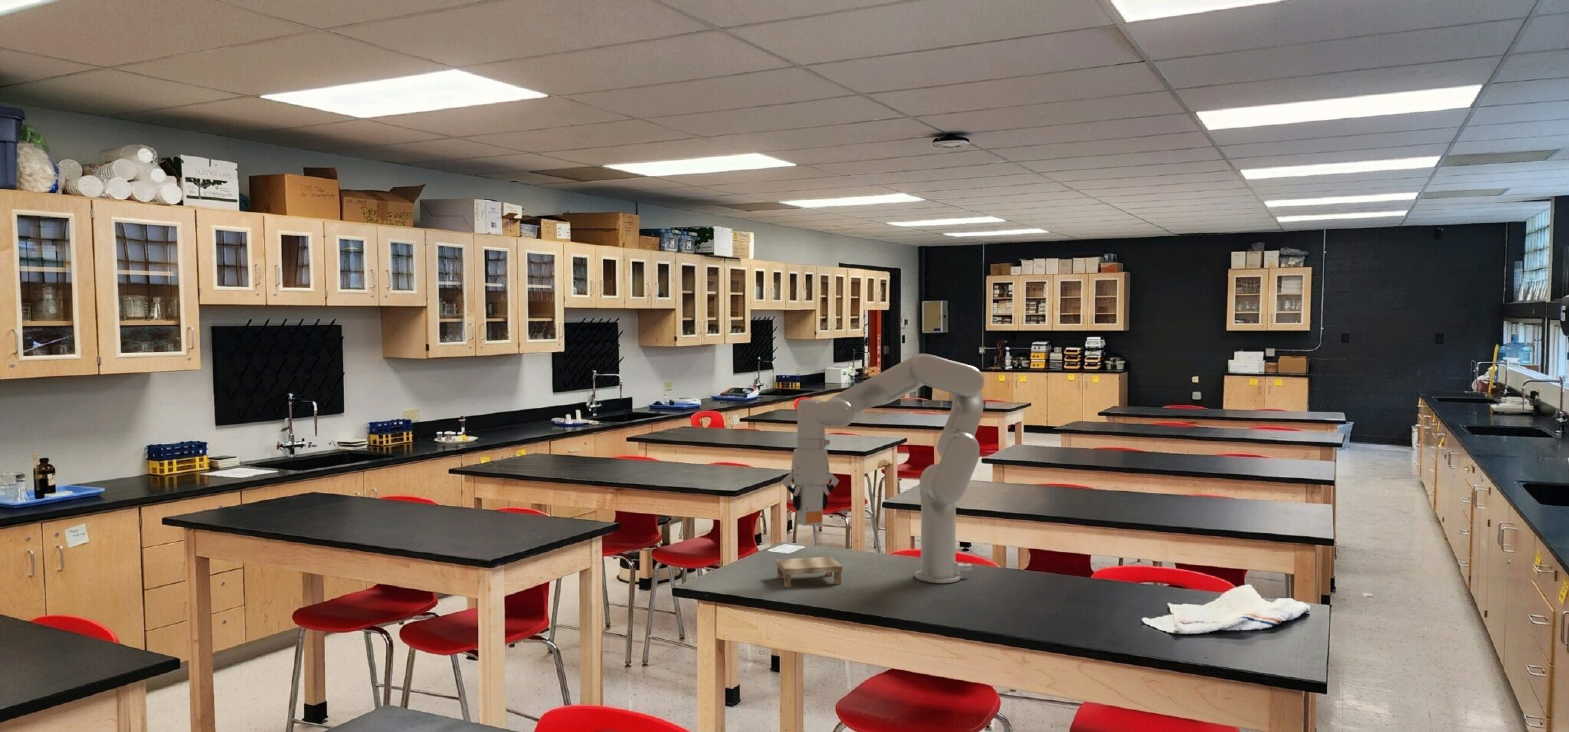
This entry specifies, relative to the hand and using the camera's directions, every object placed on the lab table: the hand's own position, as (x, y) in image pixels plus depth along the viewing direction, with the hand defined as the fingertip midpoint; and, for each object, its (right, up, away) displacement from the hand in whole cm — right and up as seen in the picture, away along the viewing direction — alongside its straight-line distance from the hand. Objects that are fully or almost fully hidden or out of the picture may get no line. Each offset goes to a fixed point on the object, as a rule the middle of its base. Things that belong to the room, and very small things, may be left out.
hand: (810, 508), depth 259 cm
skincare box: (0, -4, 0) cm, 4 cm away
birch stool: (0, -20, +1) cm, 20 cm away
